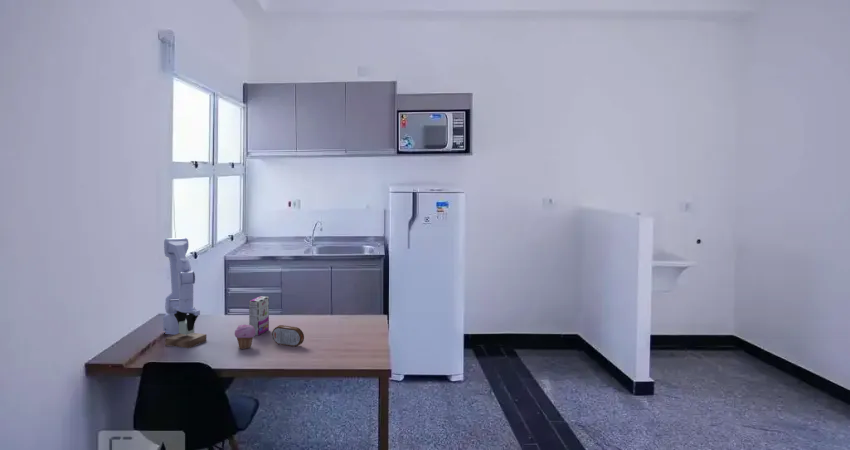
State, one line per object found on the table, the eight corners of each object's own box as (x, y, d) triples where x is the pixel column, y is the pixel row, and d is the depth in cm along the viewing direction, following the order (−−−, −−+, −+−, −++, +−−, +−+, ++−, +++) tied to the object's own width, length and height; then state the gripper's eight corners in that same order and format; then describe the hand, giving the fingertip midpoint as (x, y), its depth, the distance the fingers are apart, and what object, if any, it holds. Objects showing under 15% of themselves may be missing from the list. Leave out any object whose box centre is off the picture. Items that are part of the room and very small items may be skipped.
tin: (304, 346, 269) (304, 327, 269) (300, 348, 266) (300, 329, 266) (274, 342, 274) (275, 323, 273) (270, 344, 271) (271, 325, 270)
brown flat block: (165, 345, 264) (165, 338, 263) (182, 338, 275) (182, 331, 275) (189, 348, 261) (189, 341, 260) (206, 340, 272) (206, 334, 272)
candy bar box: (259, 329, 295) (259, 295, 294) (269, 330, 294) (269, 296, 293) (248, 335, 284) (248, 300, 283) (258, 336, 283) (258, 301, 282)
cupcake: (233, 345, 267) (234, 322, 266) (254, 344, 270) (254, 321, 269) (235, 351, 259) (235, 327, 258) (256, 349, 262) (256, 326, 261)
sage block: (178, 333, 267) (178, 321, 266) (187, 331, 271) (187, 319, 270) (186, 334, 265) (186, 323, 264) (194, 332, 269) (194, 321, 268)
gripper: (205, 299, 267) (205, 330, 268) (182, 295, 273) (181, 325, 274) (192, 302, 260) (192, 333, 261) (168, 298, 267) (168, 328, 268)
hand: (186, 329), depth 268 cm, fingers closed on sage block, 4 cm apart
